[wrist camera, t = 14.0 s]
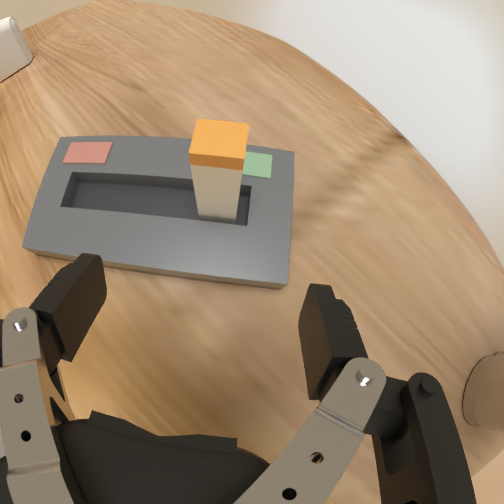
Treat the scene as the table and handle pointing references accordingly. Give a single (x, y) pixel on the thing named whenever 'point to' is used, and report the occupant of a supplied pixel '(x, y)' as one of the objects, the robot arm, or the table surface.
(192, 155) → the handle
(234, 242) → the slotted lever switch base
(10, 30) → the photo printer
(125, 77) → the table surface
